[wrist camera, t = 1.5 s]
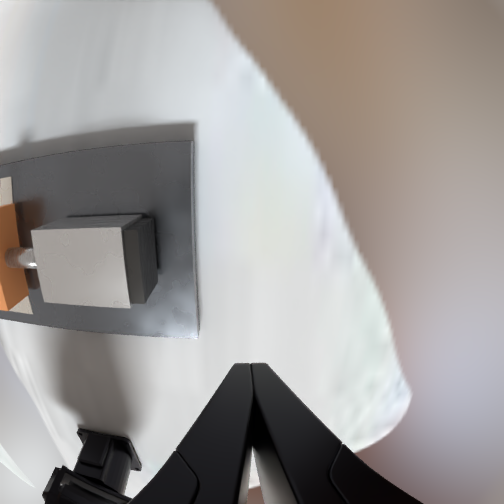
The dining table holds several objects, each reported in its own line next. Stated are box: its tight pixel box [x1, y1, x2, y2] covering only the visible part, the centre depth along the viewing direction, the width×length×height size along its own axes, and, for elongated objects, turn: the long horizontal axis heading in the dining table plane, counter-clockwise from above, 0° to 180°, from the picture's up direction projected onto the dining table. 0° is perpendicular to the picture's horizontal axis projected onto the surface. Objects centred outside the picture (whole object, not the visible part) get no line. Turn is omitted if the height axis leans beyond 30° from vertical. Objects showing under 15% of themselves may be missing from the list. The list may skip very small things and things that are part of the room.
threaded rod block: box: [5, 215, 158, 308], centre depth 16 cm, size 4×11×4 cm, turn 89°
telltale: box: [0, 204, 29, 311], centre depth 16 cm, size 7×1×3 cm, turn 179°
